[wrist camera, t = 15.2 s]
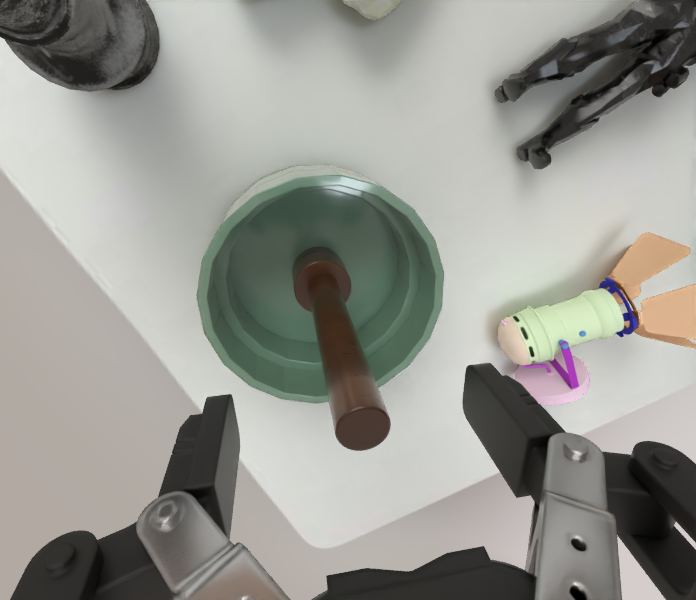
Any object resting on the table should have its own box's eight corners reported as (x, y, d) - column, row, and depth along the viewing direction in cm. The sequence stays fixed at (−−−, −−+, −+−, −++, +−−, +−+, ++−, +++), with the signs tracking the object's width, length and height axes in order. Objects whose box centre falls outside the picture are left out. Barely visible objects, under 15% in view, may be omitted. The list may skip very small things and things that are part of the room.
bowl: (196, 170, 23) (172, 184, 18) (413, 158, 25) (451, 168, 19) (231, 360, 28) (221, 416, 23) (408, 340, 30) (436, 387, 25)
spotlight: (631, 225, 29) (714, 256, 23) (644, 319, 33) (722, 372, 26) (473, 283, 32) (505, 328, 25) (499, 366, 35) (535, 427, 28)
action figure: (477, -36, 18) (925, -353, 16) (445, -11, 22) (804, -264, 20) (575, 248, 25) (898, 61, 23) (539, 230, 29) (812, 68, 27)
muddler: (289, 248, 25) (305, 393, 12) (342, 244, 26) (417, 378, 12) (294, 297, 27) (314, 477, 13) (344, 292, 27) (414, 462, 14)
